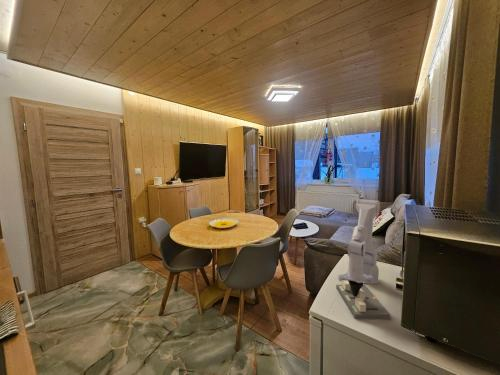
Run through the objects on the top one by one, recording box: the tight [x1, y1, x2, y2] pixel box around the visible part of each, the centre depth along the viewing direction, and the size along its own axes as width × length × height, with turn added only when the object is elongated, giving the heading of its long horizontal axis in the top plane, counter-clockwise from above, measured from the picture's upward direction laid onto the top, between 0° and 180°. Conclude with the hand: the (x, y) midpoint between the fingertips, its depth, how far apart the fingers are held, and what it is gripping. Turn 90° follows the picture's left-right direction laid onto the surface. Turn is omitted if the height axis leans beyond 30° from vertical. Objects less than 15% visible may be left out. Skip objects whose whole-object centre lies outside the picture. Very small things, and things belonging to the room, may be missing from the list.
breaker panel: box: [335, 284, 391, 320], centre depth 93 cm, size 14×20×2 cm
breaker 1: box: [341, 280, 350, 290], centre depth 100 cm, size 2×4×3 cm, turn 178°
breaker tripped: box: [357, 289, 365, 300], centre depth 93 cm, size 2×4×3 cm, turn 178°
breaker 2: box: [355, 298, 366, 312], centre depth 86 cm, size 2×4×3 cm, turn 178°
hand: (354, 295), depth 93 cm, fingers closed
